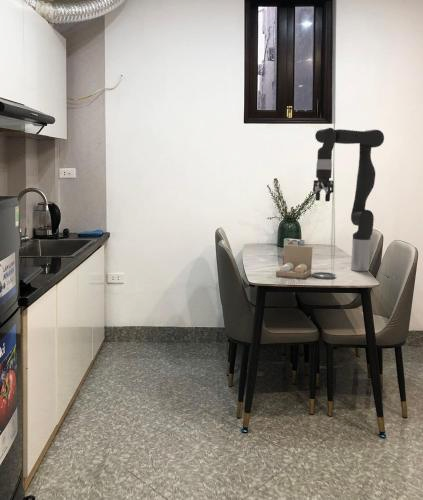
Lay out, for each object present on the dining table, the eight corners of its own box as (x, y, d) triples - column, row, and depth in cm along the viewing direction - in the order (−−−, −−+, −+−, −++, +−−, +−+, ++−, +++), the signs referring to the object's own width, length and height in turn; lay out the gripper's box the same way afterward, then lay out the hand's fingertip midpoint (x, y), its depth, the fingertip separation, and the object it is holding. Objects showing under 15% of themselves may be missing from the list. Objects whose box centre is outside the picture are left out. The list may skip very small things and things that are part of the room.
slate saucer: (315, 273, 251) (315, 271, 251) (336, 275, 247) (336, 273, 246) (310, 277, 241) (310, 275, 241) (333, 279, 237) (333, 277, 236)
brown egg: (295, 274, 246) (295, 264, 246) (304, 275, 244) (305, 265, 244) (292, 275, 242) (293, 266, 241) (302, 277, 240) (303, 267, 239)
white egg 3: (298, 271, 253) (298, 262, 252) (307, 272, 251) (308, 263, 250) (296, 273, 248) (296, 263, 247) (305, 274, 246) (306, 264, 245)
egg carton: (283, 270, 258) (284, 245, 256) (311, 273, 252) (312, 247, 250) (276, 276, 244) (276, 248, 242) (304, 278, 238) (306, 251, 236)
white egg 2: (285, 270, 255) (285, 261, 255) (294, 271, 253) (295, 262, 253) (283, 272, 251) (283, 262, 250) (292, 273, 249) (292, 263, 248)
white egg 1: (282, 272, 249) (282, 263, 248) (291, 273, 247) (291, 264, 246) (279, 274, 245) (279, 265, 244) (289, 275, 243) (289, 265, 242)
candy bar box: (303, 269, 262) (305, 240, 259) (297, 270, 259) (299, 240, 256) (288, 266, 270) (289, 237, 268) (282, 267, 267) (283, 238, 265)
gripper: (309, 168, 247) (308, 200, 250) (326, 168, 234) (324, 201, 236) (322, 169, 250) (320, 200, 252) (338, 168, 237) (337, 201, 239)
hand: (322, 200), depth 244 cm, fingers open, 8 cm apart
